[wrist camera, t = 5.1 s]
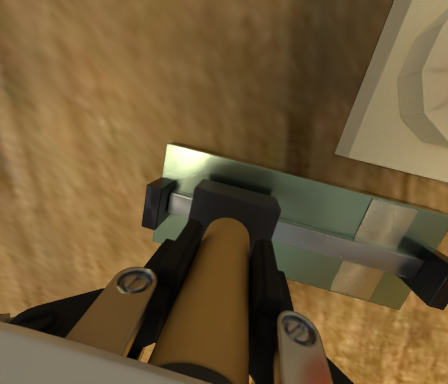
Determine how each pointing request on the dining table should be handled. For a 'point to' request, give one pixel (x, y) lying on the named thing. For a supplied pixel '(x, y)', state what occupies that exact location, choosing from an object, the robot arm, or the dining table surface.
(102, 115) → the dining table surface
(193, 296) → the nozzle
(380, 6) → the dining table surface
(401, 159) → the button box
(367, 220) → the rail
